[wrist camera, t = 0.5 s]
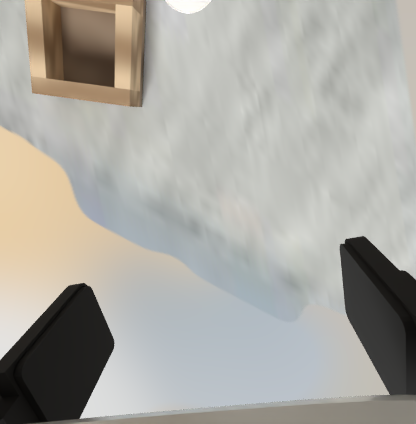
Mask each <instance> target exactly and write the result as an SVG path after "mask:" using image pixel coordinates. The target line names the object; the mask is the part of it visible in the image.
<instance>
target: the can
mask: <svg viewBox="0 0 416 424" xmlns="http://www.w3.org/2000/svg"><path fill="white" fill-rule="evenodd" d="M165 1H166V3H167V4H168V5H169V6H170V7H172V8H173V9H175V10H177V11H179V12H182V13H187V14H189V13H195V12H198V11H200V10H202V9H203V8H204V7H206V6H207V5H208V4H209V2H210V1H211V0H165Z"/></svg>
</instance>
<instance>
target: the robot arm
mask: <svg viewBox="0 0 416 424" xmlns="http://www.w3.org/2000/svg"><path fill="white" fill-rule="evenodd" d="M340 256H341V266H342V277H343V288H344V299H345V309H346V314H347V317H348V319H349V321H350V323H351V325H352V326H353V328H354V330H355V332H356V334H357V335H358V337H359V339H360V341H361V343H362V344H363V346H364V348H365V350H366V352H367V354H368V355H369V357H370V359H371V361H372V363H373V365H374V366H375V368H376V370H377V372H378V374H379V375H380V377H381V379H382V381H383V383H384V385H385V387H386V388H387V390H388V392H389V394H390V395H372V396H355V397H339V398H324V399H308V400H295V401H282V402H270V403H257V404H245V405H234V406H221V407H209V408H198V409H186V410H173V411H163V412H150V413H140V414H128V415H117V416H105V417H95V418H84V419H79V418H80V416H81V414H82V412H83V410H84V408H85V406H86V404H87V402H88V400H89V398H90V396H91V394H92V392H93V390H94V388H95V386H96V384H97V382H98V380H99V377H100V375H101V373H102V371H103V369H104V367H105V365H106V363H107V361H108V359H109V357H110V355H111V353H112V351H113V349H114V339H113V336H112V334H111V332H110V329H109V327H108V325H107V323H106V320H105V318H104V316H103V313H102V311H101V309H100V307H99V304H98V302H97V300H96V297H95V295H94V293H93V290H92V288H91V287H90V286H87V285H86V284H85V283H81V284H75V285H70V286H68V287H67V288H66V289H65V290H64V291H63V292H62V293H61V294H60V295H59V297H58V298H57V299H56V300H55V301H54V302H53V303H52V304H51V305H50V306H49V308H48V309H47V310H46V311H45V312H44V313H43V314H42V315H41V316H40V317H39V318H38V319H37V321H36V322H35V323H34V324H33V325H32V326H31V327H30V328H29V329H28V331H26V333H25V334H24V335H23V336H22V337H21V338H20V339H19V341H17V342H16V343H15V345H14V346H13V347H12V348H11V349H10V350H9V351H8V352H7V353H6V354H5V355H4V357H3V358H2V359H1V360H0V424H416V280H415V279H414V278H413V277H412V276H411V275H410V274H409V273H407V272H406V271H400V270H398V269H397V268H396V267H395V266H394V265H393V264H392V263H391V262H390V261H389V260H388V259H387V258H386V257H385V256H384V255H383V254H382V253H381V252H380V251H379V250H378V249H377V248H376V247H375V246H374V245H373V244H372V243H371V242H370V241H369V240H368V239H367V238H366V237H364V236H362V237H356V238H350V239H346V240H345V244H341V245H340Z"/></svg>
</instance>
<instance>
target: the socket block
mask: <svg viewBox="0 0 416 424" xmlns="http://www.w3.org/2000/svg"><path fill="white" fill-rule="evenodd" d="M25 10H26V22H27V34H28V46H29V59H30V71H31V83H32V93H36V94H43V95H50V96H58V97H65V98H72V99H79V100H87V101H94V102H101V103H108V104H116V105H123V106H133V107H142V89H143V66H144V43H145V20H146V1H145V0H25Z"/></svg>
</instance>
